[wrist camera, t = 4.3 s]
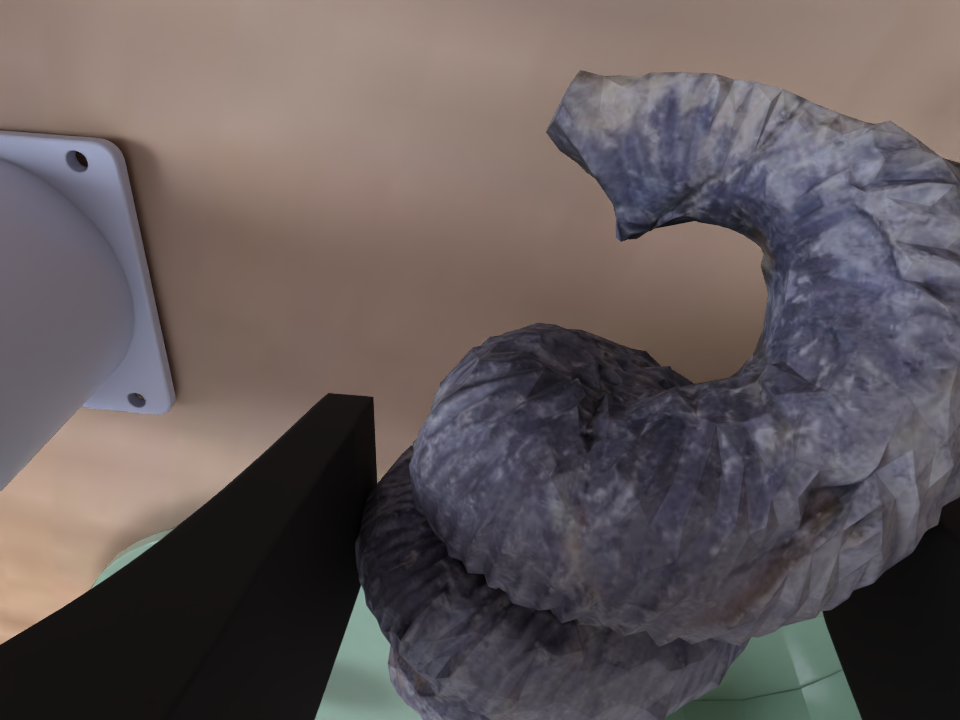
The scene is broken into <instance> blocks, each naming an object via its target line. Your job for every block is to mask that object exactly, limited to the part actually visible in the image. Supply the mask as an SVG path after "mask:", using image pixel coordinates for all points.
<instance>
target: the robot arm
mask: <svg viewBox="0 0 960 720" xmlns="http://www.w3.org/2000/svg"><path fill="white" fill-rule="evenodd" d="M75 151H78V152H80V153H81V154H83V155H84V156H85V158H86V160H87V162H88V167H85V166H83V165H82V164H80V163H79V162H78V160H77V158H76V156H75ZM135 393H138V394H140V395H141V396H143V397H144V399H145V400H144V399H140V398H139V397H138V396H136V394H135ZM175 397H176V396H175V392H174V387H173V382H172V378H171V373H170V368H169V364H168V359H167V354H166V350H165V345H164V340H163V336H162V331H161V326H160V322H159V317H158V312H157V308H156V303H155V298H154V294H153V289H152V284H151V280H150V275H149V270H148V266H147V261H146V256H145V252H144V247H143V242H142V237H141V233H140V228H139V223H138V219H137V214H136V209H135V205H134V200H133V195H132V191H131V186H130V181H129V177H128V172H127V167H126V163H125V159H124V157H123V154H122V152H121V151H120V150H119V148H118V147H117V146H116V145H115V144H113V143H112V142H110V141H109V140H106V139H102V138H93V137H80V136H67V135H54V134H40V133H27V132H14V131H1V130H0V492H1V491H2V490H3V489H4V488H5V487H6V486H7V485H8V484H9V483H10V482H11V480H12V479H13V478H14V477H15V476H16V475H17V474H18V473H19V472H20V471H21V470H22V469H23V468H24V467H25V466H26V465H27V463H28V462H29V461H30V460H31V459H32V458H33V457H34V456H35V455H36V454H37V453H38V452H39V451H40V450H41V449H42V448H43V446H44V445H45V444H46V443H47V442H48V441H49V440H50V439H51V438H52V437H53V436H54V435H55V434H56V433H57V432H58V431H59V429H60V428H61V427H62V426H63V425H64V424H65V423H66V422H67V421H68V420H69V419H70V418H71V417H72V416H73V415H74V414H75V412H76V411H77V410H78V409H79V408H80V407H82V408H93V409H103V410H114V411H124V412H135V413H146V414H156V415H159V414H165V413H167V412H168V411H169V410H170V409H171V407H172V406H173V405H174V403H175ZM376 486H377V469H376V446H375V424H374V402H373V397H368V396H356V395H345V394H333V393H328V394H327V395H326V396H324V397H323V398H322V399H321V400H320V401H319V402H317V403H316V404H315V405H314V406H313V407H312V408H311V409H310V410H309V411H308V412H307V413H306V414H305V415H304V416H303V417H301V418H300V419H299V420H298V421H297V422H296V423H295V424H294V425H293V426H292V427H291V428H290V429H289V430H288V431H287V432H286V433H285V434H284V435H282V436H281V437H280V438H279V439H278V440H277V441H276V442H275V443H274V444H273V445H272V446H271V447H270V448H269V449H267V450H266V451H265V452H264V453H263V454H262V455H261V456H260V457H259V458H258V459H256V460H255V461H254V462H253V463H252V464H251V465H250V466H249V467H247V468H246V469H245V470H244V471H243V472H242V473H241V474H239V475H238V476H237V477H236V478H235V479H234V480H233V481H232V482H230V483H229V484H228V485H227V486H226V487H225V488H224V489H222V490H221V491H220V492H219V493H218V494H217V495H215V496H214V497H213V498H212V499H211V500H209V501H208V502H207V503H206V504H204V505H203V506H202V507H201V508H199V509H198V510H197V511H196V512H194V513H193V514H192V515H191V516H189V517H188V518H187V519H186V520H184V521H183V522H182V523H181V524H179V525H178V526H177V527H176V528H175V529H173V530H172V531H171V532H170V533H168V534H167V535H166V536H165V537H163V538H162V539H161V540H159V541H158V542H157V543H155V544H154V545H153V546H151V547H150V548H149V549H147V550H146V551H145V552H143V553H142V554H141V555H139V556H138V557H137V558H135V559H134V560H132V561H131V562H130V563H128V564H127V565H125V566H124V567H123V568H121V569H120V570H118V571H117V572H115V573H114V574H113V575H111V576H110V577H108V578H107V579H105V580H104V581H102V582H101V583H99V584H98V585H96V586H95V587H93V588H92V589H90V590H89V591H87V592H86V593H84V594H83V595H81V596H80V597H78V598H77V599H75V600H74V601H72V602H71V603H69V604H67V605H66V606H64V607H63V608H61V609H60V610H58V611H56V612H55V613H53V614H51V615H49V616H48V617H46V618H44V619H43V620H41V621H39V622H38V623H36V624H34V625H33V626H31V627H29V628H28V629H26V630H24V631H23V632H21V633H19V634H18V635H16V636H14V637H13V638H11V639H9V640H8V641H6V642H4V643H3V644H1V645H0V720H315V718H316V715H317V712H318V709H319V706H320V704H321V701H322V698H323V695H324V692H325V689H326V686H327V683H328V680H329V678H330V675H331V672H332V669H333V666H334V663H335V660H336V657H337V654H338V652H339V649H340V646H341V643H342V640H343V637H344V634H345V631H346V628H347V626H348V623H349V620H350V617H351V614H352V611H353V608H354V605H355V602H356V599H357V596H358V593H359V590H360V587H361V584H360V581H359V573H358V569H357V564H356V553H355V542H356V540H357V537H358V534H359V532H360V527H361V520H362V514H363V509H364V506H365V503H366V500H367V498H368V495H369V492H371V491H372V490H373V489H374V488H375V487H376ZM822 612H823V616H824V620H825V623H826V626H827V629H828V631H829V634H830V637H831V640H832V643H833V645H834V648H835V650H836V653H837V656H838V658H839V661H840V664H841V666H842V669H843V672H844V674H845V677H846V680H847V682H848V685H849V687H850V690H851V693H852V695H853V698H854V700H855V703H856V706H857V708H858V711H859V713H860V716H861V718H862V720H960V497H959V498H958V499H956V500H954V501H952V502H950V503H948V504H946V505H944V506H943V507H942V510H941V514H940V519H939V523H938V525H936V526H934V527H932V528H930V529H928V530H927V531H926V532H925V533H924V535H923V536H922V538H921V540H920V541H919V543H918V545H917V546H916V548H915V550H914V551H913V552H912V553H911V554H910V555H908V556H907V557H905V558H904V559H902V560H901V561H899V562H898V563H896V564H895V565H894V566H892V567H891V568H889V569H888V570H886V571H885V572H884V573H883V574H882V575H881V576H880V577H879V578H878V579H877V580H876V581H875V582H874V583H873V584H870V585H868V586H865V587H862V588H859V589H857V590H854V591H853V592H852V594H851V595H850V597H849V598H848V599H847V600H845V601H844V602H842V603H841V604H839V605H838V606H837V607H835V608H834V609H832V610H827V611H822Z"/></svg>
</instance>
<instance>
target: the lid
mask: <svg viewBox="0 0 960 720" xmlns="http://www.w3.org/2000/svg"><path fill="white" fill-rule="evenodd" d="M173 529H175V528H172V529H169V530H165V531H162V532H158V533H155V534H153V535H151V536H148V537H146V538H144V539H142V540H139V541H137V542H135V543H134V544H132V545H131V546H129V547H128V548H126V549H125V550H123V551H122V552H120V553H119V554H118V555H117V556H116V557H115V558H114V559H112V560H111V561H110V562H109V563H108V564H107V565H106V567H105V568H104V570H103V571H102V573H101V574H100V575H99V577H98V578H97V580H96V581H95V583H94V584H93V586H92V587H91V589H92V588H93V587H95V586H96V585H98V584H99V583H101V582H102V581H104V580H105V579H107V578H108V577H110V576H111V575H113V574H114V573H115V572H117V571H118V570H120V569H121V568H123V567H124V566H125V565H127V564H128V563H130V562H131V561H132V560H134V559H135V558H137V557H138V556H139V555H141V554H142V553H143V552H145V551H146V550H147V549H149V548H150V547H151V546H153V545H154V544H155V543H157V542H158V541H159V540H161V539H162V538H163V537H165V536H166V535H167V534H168V533H170V532H171V531H172V530H173ZM390 646H391V645H390V643H389V642H388V640H387V639H386V638H385V636H384V635H383V634H382V632H381V630H380V627H379V624H378V622H377V619H376V618H375V617H374V615H373V614H372V612H371V611H370V610H369V608H368V607H367V606H366V602H365V594H364V591H363V588H362V586H361V587H360V590H359V593H358V596H357V599H356V602H355V605H354V608H353V611H352V614H351V617H350V620H349V623H348V626H347V628H346V631H345V634H344V637H343V640H342V643H341V646H340V649H339V652H338V654H337V657H336V660H335V663H334V666H333V669H332V672H331V675H330V678H329V680H328V683H327V686H326V689H325V692H324V695H323V698H322V701H321V704H320V706H319V709H318V712H317V715H316V718H315V720H423V719H422V718H421V717H420V715H419V714H418V713H416V712H415V711H414V710H413V709H411V708H410V707H409V706H408V705H407V704H406V703H405V702H404V701H403V700H402V699H401V698H400V696H399V695H398V694H397V692H396V691H395V689H394V687H393V685H392V683H391V680H390V674H389V669H388V658H389V652H390Z"/></svg>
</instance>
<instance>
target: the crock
mask: <svg viewBox="0 0 960 720" xmlns="http://www.w3.org/2000/svg"><path fill="white" fill-rule="evenodd" d="M664 720H862V718H861V716H860V713H859V711H858V708H857V706H856V703H855V700H854V698H853V695H852V693H851V690H850V687H849V685H848V682H847V680H846V677H845V674H844V672H843V669H842V666H841V664H840V661H839V658H838V656H837V653H836V650H835V648H834V645H833V643H832V640H831V637H830V634H829V631H828V629H827V626H826V623H825V620H824V616H823V612H822V611H820V613H819V614H818V616H817V617H816V618H814V619H810V620H806V621H802V622H798V623H794V624H790V625H786V626H782V627H780V628H779V629H777V630H776V631H775V632H773V633H770V634H767V635H765V636H762V637H759V638H757V637H751V639H750V640H749V642H748V644H747V646H746V648H745V650H744V651H743V652H742V653H741V654H740V655H739V656H738V657H737V658H736V659H735V661H734V662H733V663H732V664H731V665H730V667H729V669H728V671H727V672H726V674H725V676H724V678H723V680H722V681H721V683H720V685H719V686H718V687H716V688H714V689H712V690H711V691H709V692H707V693H705V694H703V695H702V696H700V697H698V698H696V699H694V700H693V701H691V702H689V703H687V704H685V705H684V706H682V707H680V708H679V709H678V710H676V711H675V712H673V713H671V714H670V715H668V716H666V717H665V719H664Z"/></svg>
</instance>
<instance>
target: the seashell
mask: <svg viewBox="0 0 960 720" xmlns="http://www.w3.org/2000/svg"><path fill="white" fill-rule="evenodd" d="M546 133H547V134H548V136H549V137H550V138H551V140H552V141H553V142H554V144H555V145H556V146H557V147H558V149H559V150H560V151H561V152H563V153H564V154H565V155H567V156H568V157H570V158H571V159H573V160H574V161H575V162H577V163H578V164H579V165H580V166H581V167H582V168H583V169H584V170H585V171H586V172H587V173H588V174H590V175H591V176H593V177H594V178H595V179H596V180H597V182H598V183H599V184H600V186H601V187H602V189H603V190H604V192H605V193H606V195H607V196H608V198H609V199H610V201H611V202H612V203H613V207H614V211H615V216H616V238H617V239H619V240H620V241H621V242H622V241H625V240H627V239H637V238H639V237H640V236H642V235H643V234H645V233H646V232H648V231H651V230H653V229H655V228H660V227H665V226H670V225H676V224H681V223H686V222H691V221H697V222H701V223H707V224H713V225H719V226H722V227H725V228H729V229H732V230H734V231H736V232H738V233H741V234H743V235H744V236H746V237H748V238H749V239H751V240H752V241H754V242H755V243H756V244H757V245H759V246H760V247H761V249H762V251H763V253H764V255H763V259H762V263H761V268H762V272H763V275H764V279H765V283H766V286H767V290H768V299H767V306H766V314H765V321H764V328H763V331H762V333H761V336H760V338H759V340H758V343H757V345H756V348H755V350H754V353H753V357H751V358H749V359H748V360H747V361H746V363H745V364H744V365H743V366H742V367H741V368H740V370H739V371H738V372H737V373H735V374H734V375H732V376H731V377H729V378H725V379H720V380H715V381H711V382H706V383H698V384H693V383H692V382H690V381H689V380H688V379H686V378H685V377H683V376H682V375H680V374H679V373H677V372H676V371H674V370H672V369H671V367H670V366H660V365H659V364H658V363H657V362H656V361H655V360H654V359H653V358H652V357H651V356H650V355H649V354H648V353H647V352H646V351H642V350H636V349H631V348H628V347H625V346H622V345H619V344H617V343H614V342H612V341H609V340H607V339H604V338H602V337H599V336H597V335H594V334H591V333H588V332H586V331H583V330H574V329H565V328H563V327H560V326H558V325H554V324H544V323H536V324H533V325H530V326H527V327H524V328H521V329H518V330H514V331H510V332H507V333H504V334H503V335H500V336H493V337H489V338H488V339H487V340H486V341H485V342H484V343H483V344H482V345H481V346H478V347H473V348H472V349H471V350H470V351H469V352H468V354H467V355H466V356H465V357H464V358H463V359H462V360H461V361H460V362H459V363H458V364H457V366H456V367H455V368H454V369H453V370H452V371H451V372H450V373H449V374H448V375H447V377H446V378H445V379H444V380H443V381H442V382H441V383H440V388H439V389H438V391H437V392H436V393H435V396H434V400H433V404H432V407H431V411H430V414H429V415H428V417H427V419H426V421H425V423H424V424H423V426H422V428H421V430H420V431H419V435H418V438H417V439H416V440H415V441H414V442H413V446H410V447H409V448H408V449H407V450H406V451H405V452H404V453H403V454H402V455H401V456H400V457H399V458H398V460H397V461H396V462H395V463H394V464H393V466H392V467H391V468H390V469H389V470H388V472H387V473H386V474H385V475H384V476H383V478H382V479H381V480H380V481H379V482H378V484H377V486H376V487H375V488H374V489H373V490H372V491H371V492H369V495H368V498H367V500H366V503H365V506H364V509H363V514H362V520H361V527H360V532H359V534H358V537H357V540H356V542H355V553H356V564H357V569H358V573H359V581H360V584H361V586H362V588H363V591H364V594H365V602H366V606H367V607H368V608H369V610H370V611H371V612H372V614H373V615H374V617H375V618H376V619H377V622H378V624H379V627H380V630H381V632H382V634H383V635H384V636H385V638H386V639H387V640H388V642H389V643H390V645H391V646H390V652H389V658H388V669H389V674H390V680H391V683H392V685H393V687H394V689H395V691H396V692H397V694H398V695H399V696H400V698H401V699H402V700H403V701H404V702H405V703H406V704H407V705H408V706H409V707H410V708H411V709H413V710H414V711H415V712H416V713H418V714H419V715H420V717H421V718H422V719H423V720H664V719H665V717H666V716H668V715H670V714H671V713H673V712H675V711H676V710H678V709H679V708H680V707H682V706H684V705H685V704H687V703H689V702H691V701H693V700H694V699H696V698H698V697H700V696H702V695H703V694H705V693H707V692H709V691H711V690H712V689H714V688H716V687H718V686H719V685H720V683H721V681H722V680H723V678H724V676H725V674H726V672H727V671H728V669H729V667H730V665H731V664H732V663H733V662H734V661H735V659H736V658H737V657H738V656H739V655H740V654H741V653H742V652H743V651H744V650H745V648H746V646H747V644H748V642H749V640H750V639H751V637H757V638H759V637H762V636H765V635H767V634H770V633H773V632H775V631H776V630H777V629H779V628H780V627H782V626H786V625H790V624H794V623H798V622H802V621H806V620H810V619H814V618H816V617H817V616H818V614H819V613H820V611H827V610H832V609H834V608H835V607H837V606H838V605H839V604H841V603H842V602H844V601H845V600H847V599H848V598H849V597H850V595H851V594H852V592H853V591H854V590H857V589H859V588H862V587H865V586H868V585H870V584H873V583H874V582H875V581H876V580H877V579H878V578H879V577H880V576H881V575H882V574H883V573H884V572H885V571H886V570H888V569H889V568H891V567H892V566H894V565H895V564H896V563H898V562H899V561H901V560H902V559H904V558H905V557H907V556H908V555H910V554H911V553H912V552H913V551H914V550H915V548H916V546H917V545H918V543H919V541H920V540H921V538H922V536H923V535H924V533H925V532H926V531H927V530H928V529H930V528H932V527H934V526H936V525H938V523H939V519H940V514H941V510H942V507H943V506H944V505H946V504H948V503H950V502H952V501H954V500H956V499H958V498H959V497H960V163H957V162H954V161H951V160H947V159H944V158H942V157H940V156H939V155H938V154H936V153H935V152H934V151H932V150H931V149H930V148H928V147H927V146H926V145H925V144H923V143H922V142H921V141H919V140H918V139H917V138H916V137H914V136H913V135H911V134H909V133H908V132H906V131H905V130H903V129H902V128H900V127H899V126H897V125H896V124H894V123H893V122H891V121H887V122H883V123H879V124H872V123H867V122H863V121H860V120H857V119H854V118H851V117H848V116H845V115H842V114H839V113H837V112H834V111H832V110H829V109H827V108H825V107H822V106H820V105H817V104H815V103H812V102H810V101H808V100H806V99H804V98H802V97H800V96H798V95H795V94H793V93H791V92H789V91H786V90H784V89H781V88H777V87H774V86H770V85H766V84H762V83H758V82H753V81H741V80H733V79H730V78H727V77H723V76H720V75H717V74H708V73H687V72H670V73H648V74H646V75H644V76H642V77H635V76H600V75H597V74H593V73H590V72H586V71H582V70H580V71H579V73H578V74H577V75H576V77H575V78H574V79H573V81H572V82H571V83H570V85H569V87H568V89H567V91H566V93H565V95H564V97H563V99H562V100H561V102H560V104H559V106H558V108H557V110H556V112H555V114H554V117H553V119H552V121H551V123H550V125H549V127H548V129H547V131H546Z"/></svg>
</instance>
